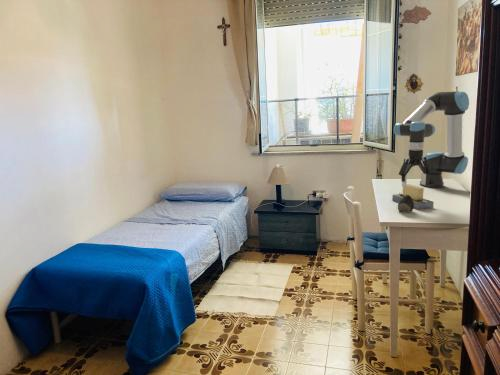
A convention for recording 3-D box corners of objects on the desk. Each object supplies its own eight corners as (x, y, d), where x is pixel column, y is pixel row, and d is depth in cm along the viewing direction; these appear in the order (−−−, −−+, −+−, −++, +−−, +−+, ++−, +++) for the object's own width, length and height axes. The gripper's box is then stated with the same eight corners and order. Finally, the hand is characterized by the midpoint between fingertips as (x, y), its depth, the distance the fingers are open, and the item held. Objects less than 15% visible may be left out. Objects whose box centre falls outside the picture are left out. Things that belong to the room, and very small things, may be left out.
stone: (400, 214, 212) (394, 202, 207) (403, 204, 216) (397, 192, 211) (414, 213, 207) (408, 202, 202) (417, 203, 211) (411, 191, 206)
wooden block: (407, 198, 230) (408, 184, 228) (422, 203, 218) (423, 188, 216) (402, 199, 228) (403, 184, 226) (416, 204, 217) (417, 188, 215)
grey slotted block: (405, 198, 235) (406, 191, 235) (433, 207, 215) (433, 200, 214) (392, 200, 232) (392, 193, 231) (418, 209, 212) (419, 202, 211)
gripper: (402, 152, 209) (400, 189, 214) (438, 148, 217) (435, 184, 222) (393, 150, 216) (391, 186, 221) (428, 146, 224) (426, 182, 229)
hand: (413, 185), depth 222 cm, fingers open, 13 cm apart
